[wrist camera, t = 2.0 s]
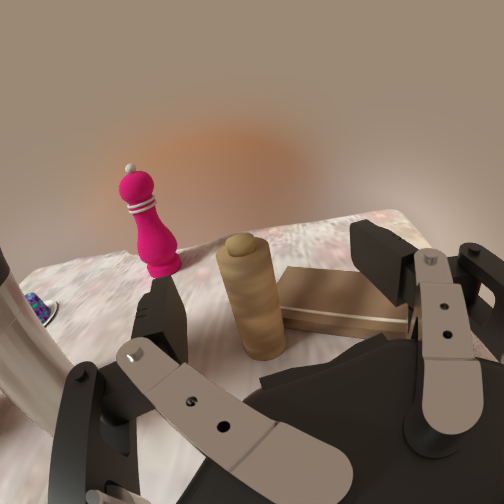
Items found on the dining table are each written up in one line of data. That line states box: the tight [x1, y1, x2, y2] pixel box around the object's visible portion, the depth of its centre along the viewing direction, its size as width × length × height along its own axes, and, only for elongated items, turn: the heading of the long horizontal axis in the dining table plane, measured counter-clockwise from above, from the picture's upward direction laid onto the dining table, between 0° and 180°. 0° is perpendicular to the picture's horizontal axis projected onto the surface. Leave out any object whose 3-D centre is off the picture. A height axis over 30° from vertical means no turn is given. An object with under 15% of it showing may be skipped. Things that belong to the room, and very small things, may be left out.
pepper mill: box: [119, 164, 181, 278], centre depth 45 cm, size 7×7×20 cm
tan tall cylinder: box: [216, 233, 287, 361], centre depth 26 cm, size 5×5×13 cm
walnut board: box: [276, 266, 408, 340], centre depth 31 cm, size 20×10×2 cm, turn 64°
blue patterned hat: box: [25, 293, 57, 326], centre depth 41 cm, size 12×12×5 cm
